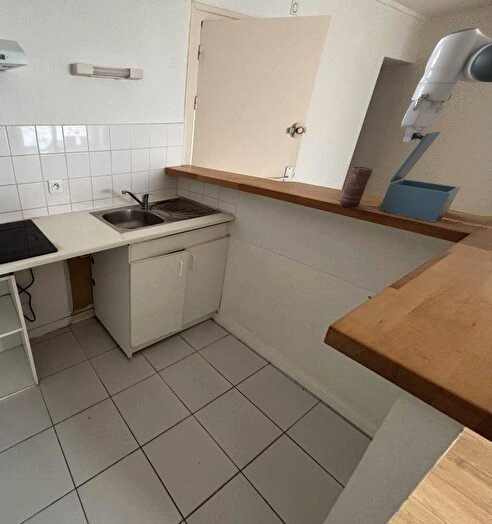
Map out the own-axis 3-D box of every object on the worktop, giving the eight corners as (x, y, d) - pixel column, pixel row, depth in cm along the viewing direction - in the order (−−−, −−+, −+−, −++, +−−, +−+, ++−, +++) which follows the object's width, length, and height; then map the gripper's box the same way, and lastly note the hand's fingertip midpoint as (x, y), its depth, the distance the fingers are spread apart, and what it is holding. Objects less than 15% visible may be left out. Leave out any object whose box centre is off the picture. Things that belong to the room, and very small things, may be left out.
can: (359, 208, 106) (374, 170, 99) (339, 205, 109) (352, 168, 102) (358, 204, 110) (372, 167, 103) (339, 201, 113) (352, 165, 106)
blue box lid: (440, 132, 94) (423, 127, 97) (429, 134, 88) (410, 128, 91) (404, 178, 105) (389, 172, 108) (391, 182, 99) (376, 176, 102)
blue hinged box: (445, 215, 99) (460, 187, 94) (434, 222, 92) (450, 193, 88) (391, 204, 110) (402, 178, 105) (378, 210, 104) (389, 183, 99)
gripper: (434, 93, 82) (410, 144, 89) (453, 95, 92) (430, 141, 99) (408, 93, 86) (387, 141, 93) (428, 95, 97) (408, 139, 104)
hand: (409, 141), depth 96 cm, fingers closed on blue box lid, 5 cm apart
